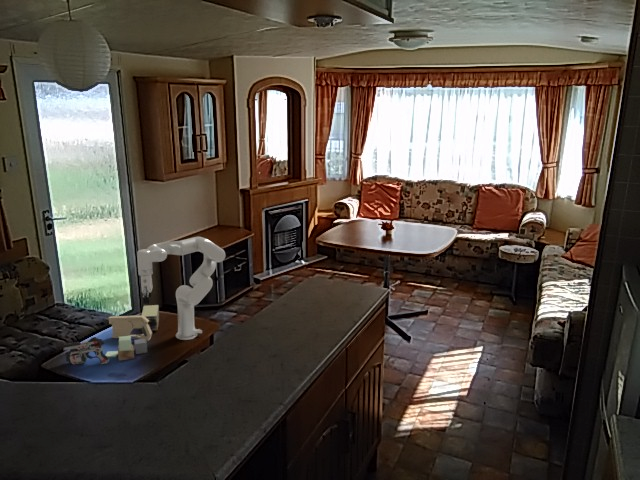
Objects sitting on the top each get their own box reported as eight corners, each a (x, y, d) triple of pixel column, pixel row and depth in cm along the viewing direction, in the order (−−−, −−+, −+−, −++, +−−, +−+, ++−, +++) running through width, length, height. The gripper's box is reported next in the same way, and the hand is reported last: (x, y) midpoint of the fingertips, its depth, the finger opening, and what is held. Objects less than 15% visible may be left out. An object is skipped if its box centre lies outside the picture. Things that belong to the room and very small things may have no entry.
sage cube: (131, 345, 291) (130, 335, 289) (131, 350, 285) (130, 339, 284) (119, 346, 289) (119, 336, 287) (119, 351, 283) (118, 341, 282)
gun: (153, 338, 311) (150, 315, 308) (150, 341, 308) (147, 317, 305) (114, 339, 314) (110, 315, 311) (111, 341, 311) (107, 317, 307)
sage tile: (118, 352, 293) (118, 351, 293) (116, 356, 287) (116, 355, 287) (107, 352, 292) (107, 351, 292) (105, 357, 286) (104, 356, 286)
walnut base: (133, 352, 293) (132, 344, 292) (134, 358, 286) (133, 350, 285) (118, 354, 290) (117, 346, 289) (118, 361, 283) (118, 352, 282)
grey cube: (145, 348, 299) (145, 338, 298) (147, 352, 294) (146, 342, 293) (134, 349, 297) (134, 339, 295) (136, 354, 291) (135, 344, 290)
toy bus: (141, 332, 318) (140, 317, 317) (143, 320, 341) (143, 305, 339) (158, 331, 321) (157, 316, 319) (159, 319, 343) (159, 304, 341)
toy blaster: (70, 367, 281) (63, 341, 277) (110, 360, 281) (103, 334, 278) (68, 370, 277) (60, 344, 273) (108, 363, 278) (101, 337, 274)
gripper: (150, 276, 283) (152, 305, 288) (154, 266, 300) (155, 294, 304) (136, 276, 282) (138, 306, 286) (140, 267, 298) (142, 295, 303)
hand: (147, 300), depth 295 cm, fingers open, 9 cm apart
